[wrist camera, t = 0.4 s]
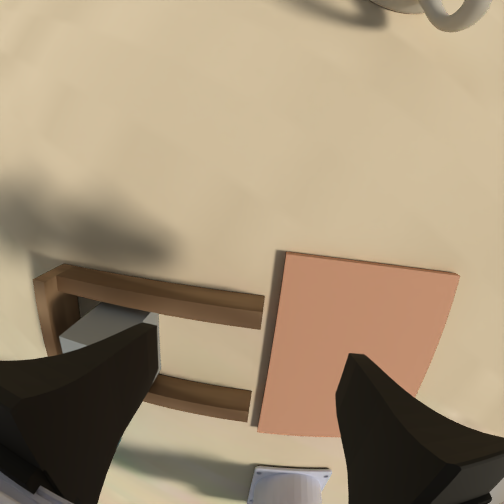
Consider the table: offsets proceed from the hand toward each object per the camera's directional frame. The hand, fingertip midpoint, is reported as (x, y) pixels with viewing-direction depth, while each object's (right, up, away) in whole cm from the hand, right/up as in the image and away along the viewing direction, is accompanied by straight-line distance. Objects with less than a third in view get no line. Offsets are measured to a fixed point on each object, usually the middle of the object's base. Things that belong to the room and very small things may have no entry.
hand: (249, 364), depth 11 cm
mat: (+8, -4, +11) cm, 14 cm away
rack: (-7, -2, +11) cm, 14 cm away
